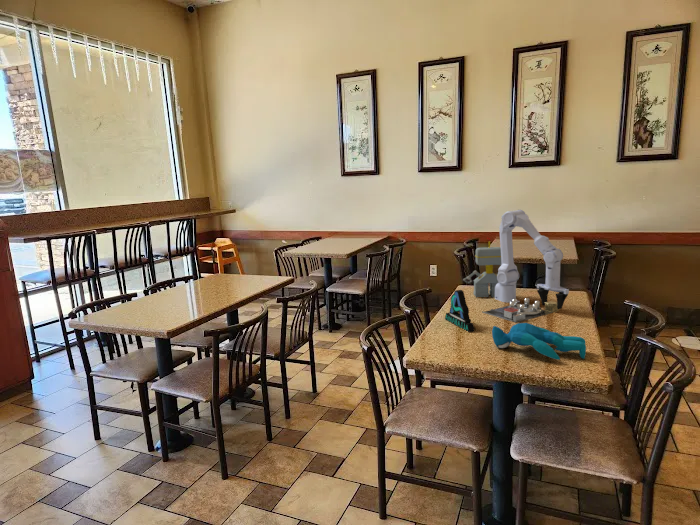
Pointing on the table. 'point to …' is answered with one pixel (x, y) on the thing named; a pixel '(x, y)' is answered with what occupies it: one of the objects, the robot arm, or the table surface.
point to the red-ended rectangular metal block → (510, 313)
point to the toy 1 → (488, 258)
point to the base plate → (516, 318)
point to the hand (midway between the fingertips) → (552, 307)
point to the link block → (551, 306)
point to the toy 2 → (538, 340)
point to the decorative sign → (463, 316)
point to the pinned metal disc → (526, 307)
